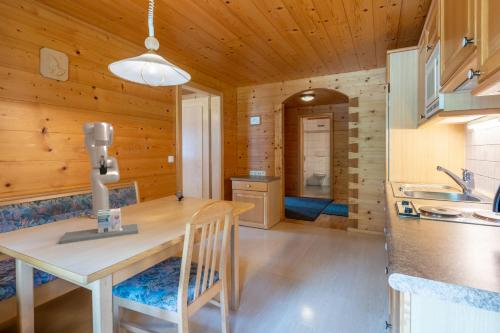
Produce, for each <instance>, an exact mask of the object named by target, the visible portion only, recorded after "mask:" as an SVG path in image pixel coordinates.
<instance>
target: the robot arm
mask: <svg viewBox="0 0 500 333" xmlns="http://www.w3.org/2000/svg"><path fill="white" fill-rule="evenodd" d="M114 132H115V131H114V127H113V124H111V123H110V122H106V121H104V122H103V121H96V122H84V123H83V124H82V134H83V135H84V137H83V144H84V147H85V149H86V152H87V153H88V155H89V162H90V167H91V170H90V171H89V174H88V175H89V181H90V186H91V200H92V214H91V215H90V216H89V217H90V218H91V219H95V220H98V214H97V213H98V211H99V210H107V209H110V200H109V199H110V197H109V195H110V194H109V188H108V187H107V186H106V185H105V184H107V183H108V184H109V183H111V184H112V183H117V182H119V180H120V176H121V174H120V170H119V165H118V160H117V158H116V157H114V156H109V155H108V154H109V151H108V150H109V149H108V147H111V145H113V142H114Z"/></svg>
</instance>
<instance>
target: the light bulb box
mask: <svg viewBox="0 0 500 333" xmlns="http://www.w3.org/2000/svg"><path fill="white" fill-rule="evenodd" d="M97 214H98V219H97V229H98V233H104V232H113V231H121V226H122V213H121V208H120V207H118V208H109V209H107V210H99V211H98V213H97Z"/></svg>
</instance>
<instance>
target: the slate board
mask: <svg viewBox="0 0 500 333" xmlns="http://www.w3.org/2000/svg"><path fill="white" fill-rule="evenodd" d="M134 234H135V235H137V234H139V228H138V223H133V224H132V223H131V224H125V225H121V231H113V232H104V233H98V228H91V229H84V230H76V231H67V232H65V233H64V234H63V236H62V237H61V238H60V241H59V244H60V245H64V244H70V243H77V242H85V241H90V240H98V239H99V240H100V239H107V238H108V239H109V238H115V237H120V236H122V237H123V236H128V235H129V236H130V235H134Z"/></svg>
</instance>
